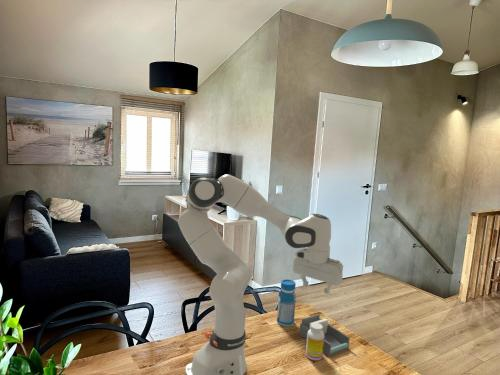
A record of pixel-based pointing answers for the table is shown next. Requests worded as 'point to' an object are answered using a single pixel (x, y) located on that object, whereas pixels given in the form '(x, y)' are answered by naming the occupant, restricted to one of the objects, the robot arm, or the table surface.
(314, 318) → the pusher lane
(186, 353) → the table surface
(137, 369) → the table surface
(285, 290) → the beverage bottle
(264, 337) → the table surface
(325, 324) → the plate
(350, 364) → the table surface
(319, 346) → the supplement bottle
